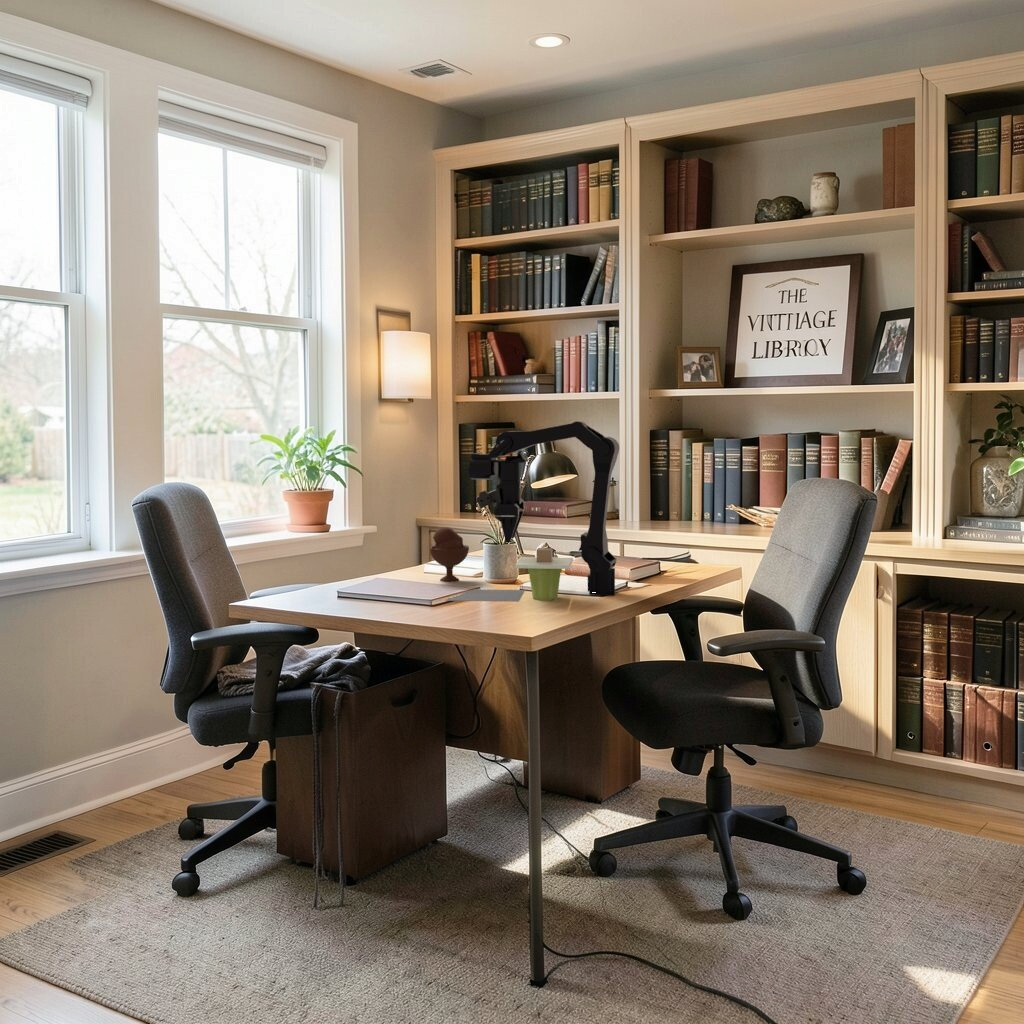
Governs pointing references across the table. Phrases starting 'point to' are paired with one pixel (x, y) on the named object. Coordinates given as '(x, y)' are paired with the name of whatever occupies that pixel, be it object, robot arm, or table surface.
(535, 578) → the plant pot
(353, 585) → the table surface
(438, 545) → the ice cream bowl
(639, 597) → the table surface
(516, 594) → the gray flat panel
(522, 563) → the sage lid
